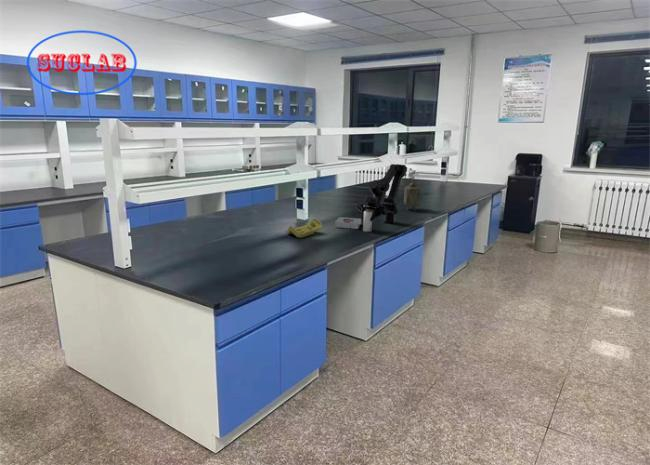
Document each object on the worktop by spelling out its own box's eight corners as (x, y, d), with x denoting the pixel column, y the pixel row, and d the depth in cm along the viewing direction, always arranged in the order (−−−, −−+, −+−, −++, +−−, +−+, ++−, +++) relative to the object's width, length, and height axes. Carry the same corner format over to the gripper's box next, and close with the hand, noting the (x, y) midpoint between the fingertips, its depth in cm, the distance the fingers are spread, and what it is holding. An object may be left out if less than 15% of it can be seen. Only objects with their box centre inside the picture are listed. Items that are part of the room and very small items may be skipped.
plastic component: (300, 234, 232) (288, 224, 237) (296, 245, 236) (285, 234, 241) (325, 226, 245) (314, 216, 250) (321, 236, 249) (310, 226, 254)
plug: (363, 229, 256) (364, 208, 253) (371, 230, 255) (373, 209, 252) (362, 231, 252) (363, 210, 248) (370, 231, 250) (371, 211, 247)
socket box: (339, 222, 273) (339, 215, 272) (361, 224, 270) (361, 217, 269) (334, 227, 259) (335, 220, 258) (357, 229, 256) (358, 222, 255)
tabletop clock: (418, 211, 312) (420, 177, 306) (405, 211, 312) (408, 177, 306) (414, 208, 326) (417, 175, 320) (402, 207, 326) (405, 175, 320)
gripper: (358, 189, 256) (348, 210, 250) (386, 192, 246) (376, 214, 239) (364, 200, 264) (354, 220, 258) (391, 204, 254) (382, 225, 248)
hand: (366, 220), depth 251 cm, fingers closed on plug, 5 cm apart
